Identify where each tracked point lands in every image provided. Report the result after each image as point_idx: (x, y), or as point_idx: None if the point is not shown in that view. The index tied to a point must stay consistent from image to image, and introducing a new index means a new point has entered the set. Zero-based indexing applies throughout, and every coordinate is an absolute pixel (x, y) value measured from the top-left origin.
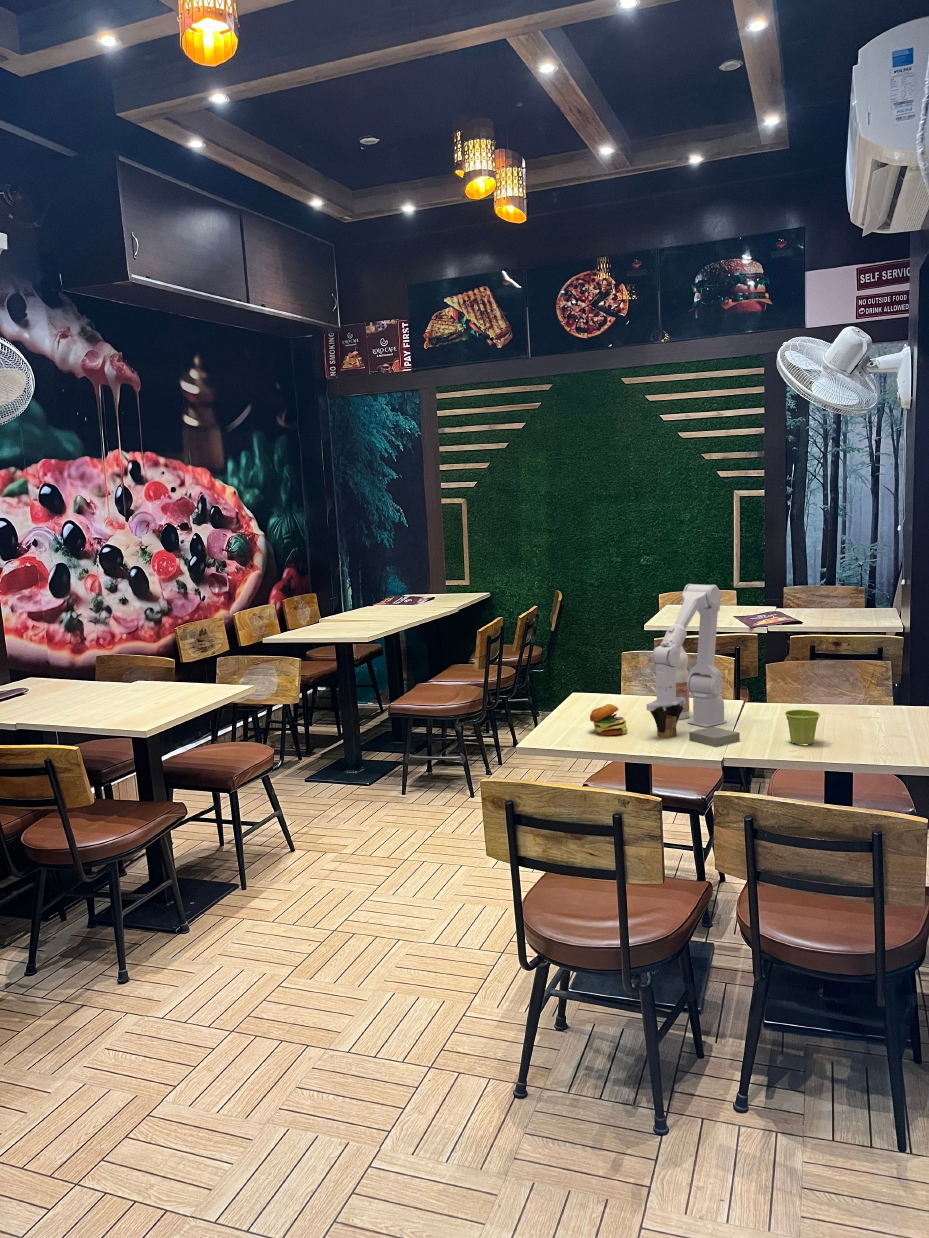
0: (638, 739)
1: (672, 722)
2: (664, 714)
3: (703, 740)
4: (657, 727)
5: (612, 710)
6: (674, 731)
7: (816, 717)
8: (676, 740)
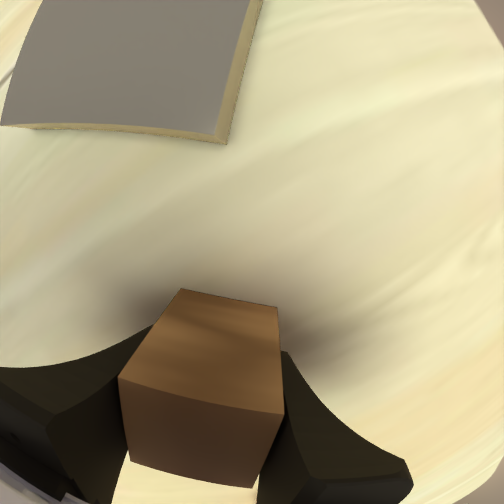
0: (378, 404)
1: (196, 359)
2: (354, 456)
3: (255, 10)
4: None
5: None
6: (191, 309)
7: None
8: (284, 224)
